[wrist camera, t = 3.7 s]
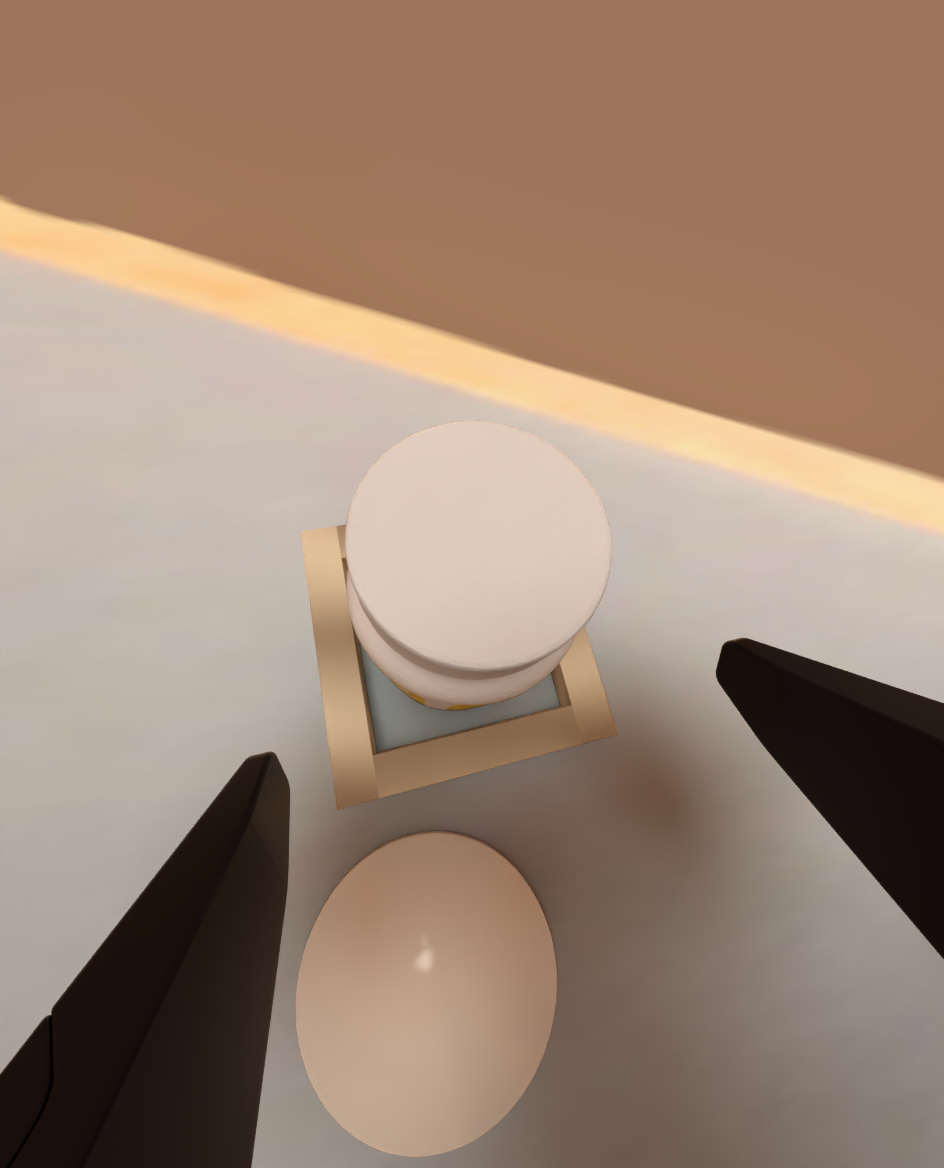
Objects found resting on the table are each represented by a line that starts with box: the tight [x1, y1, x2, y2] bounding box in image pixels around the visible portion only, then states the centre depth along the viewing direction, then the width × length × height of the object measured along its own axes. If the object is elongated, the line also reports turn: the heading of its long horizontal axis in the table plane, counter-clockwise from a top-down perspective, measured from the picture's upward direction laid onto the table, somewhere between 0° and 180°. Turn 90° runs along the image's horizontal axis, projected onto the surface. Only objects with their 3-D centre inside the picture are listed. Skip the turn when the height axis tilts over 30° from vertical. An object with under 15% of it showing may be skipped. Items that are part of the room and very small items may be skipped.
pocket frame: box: [301, 525, 617, 810], centre depth 18 cm, size 11×11×2 cm
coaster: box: [295, 831, 557, 1157], centre depth 15 cm, size 9×9×1 cm
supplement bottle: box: [345, 421, 612, 710], centre depth 14 cm, size 6×6×11 cm
